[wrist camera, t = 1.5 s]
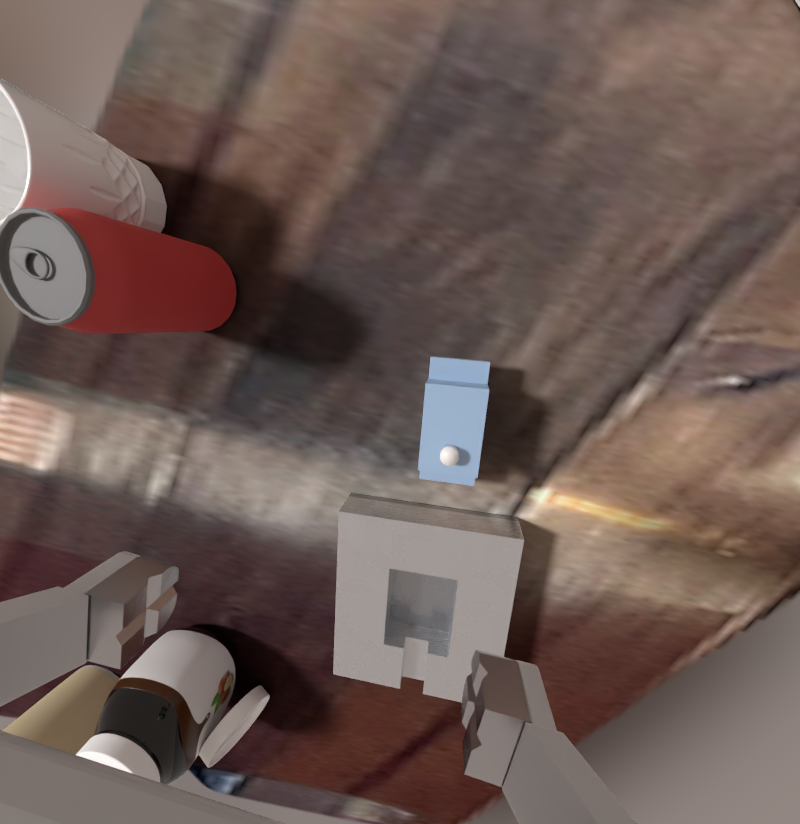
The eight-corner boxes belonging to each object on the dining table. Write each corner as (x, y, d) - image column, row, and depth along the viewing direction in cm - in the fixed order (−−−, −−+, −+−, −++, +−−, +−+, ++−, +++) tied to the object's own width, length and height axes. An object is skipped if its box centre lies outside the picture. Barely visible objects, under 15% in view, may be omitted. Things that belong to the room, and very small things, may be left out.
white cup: (188, 180, 28) (45, 105, 18) (157, 276, 30) (14, 255, 21) (101, 128, 28) (-86, 27, 19) (76, 228, 30) (-102, 184, 21)
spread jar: (170, 609, 39) (51, 726, 27) (271, 626, 37) (188, 758, 26) (183, 699, 41) (79, 838, 30) (277, 719, 40) (204, 874, 29)
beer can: (178, 231, 29) (-10, 170, 17) (251, 267, 29) (109, 230, 17) (158, 309, 31) (-24, 301, 19) (226, 344, 31) (84, 357, 19)
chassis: (517, 517, 30) (524, 539, 27) (491, 674, 34) (494, 709, 31) (350, 493, 32) (338, 511, 29) (344, 644, 36) (333, 674, 33)
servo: (487, 358, 27) (493, 366, 22) (473, 470, 30) (475, 504, 24) (433, 353, 28) (426, 360, 22) (423, 463, 30) (414, 495, 25)
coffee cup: (61, 696, 45) (-78, 825, 33) (77, 644, 42) (-68, 765, 31) (126, 735, 44) (8, 879, 33) (147, 686, 42) (27, 824, 30)
